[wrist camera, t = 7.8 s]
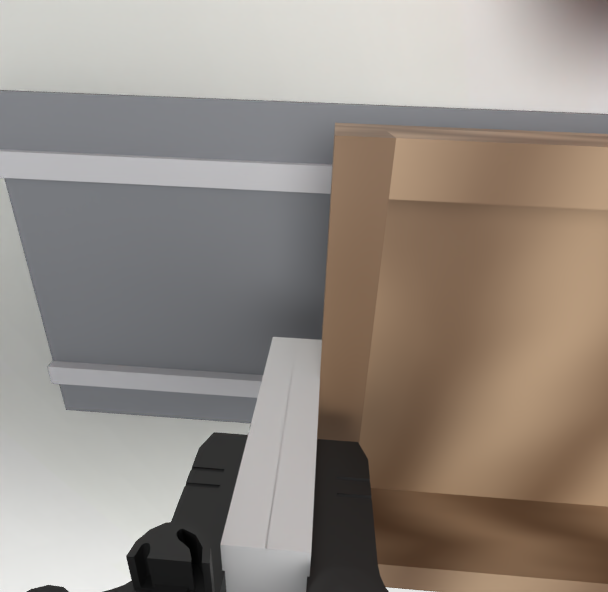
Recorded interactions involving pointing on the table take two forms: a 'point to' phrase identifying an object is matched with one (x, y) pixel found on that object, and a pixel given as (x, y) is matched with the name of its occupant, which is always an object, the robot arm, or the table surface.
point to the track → (186, 235)
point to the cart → (472, 351)
